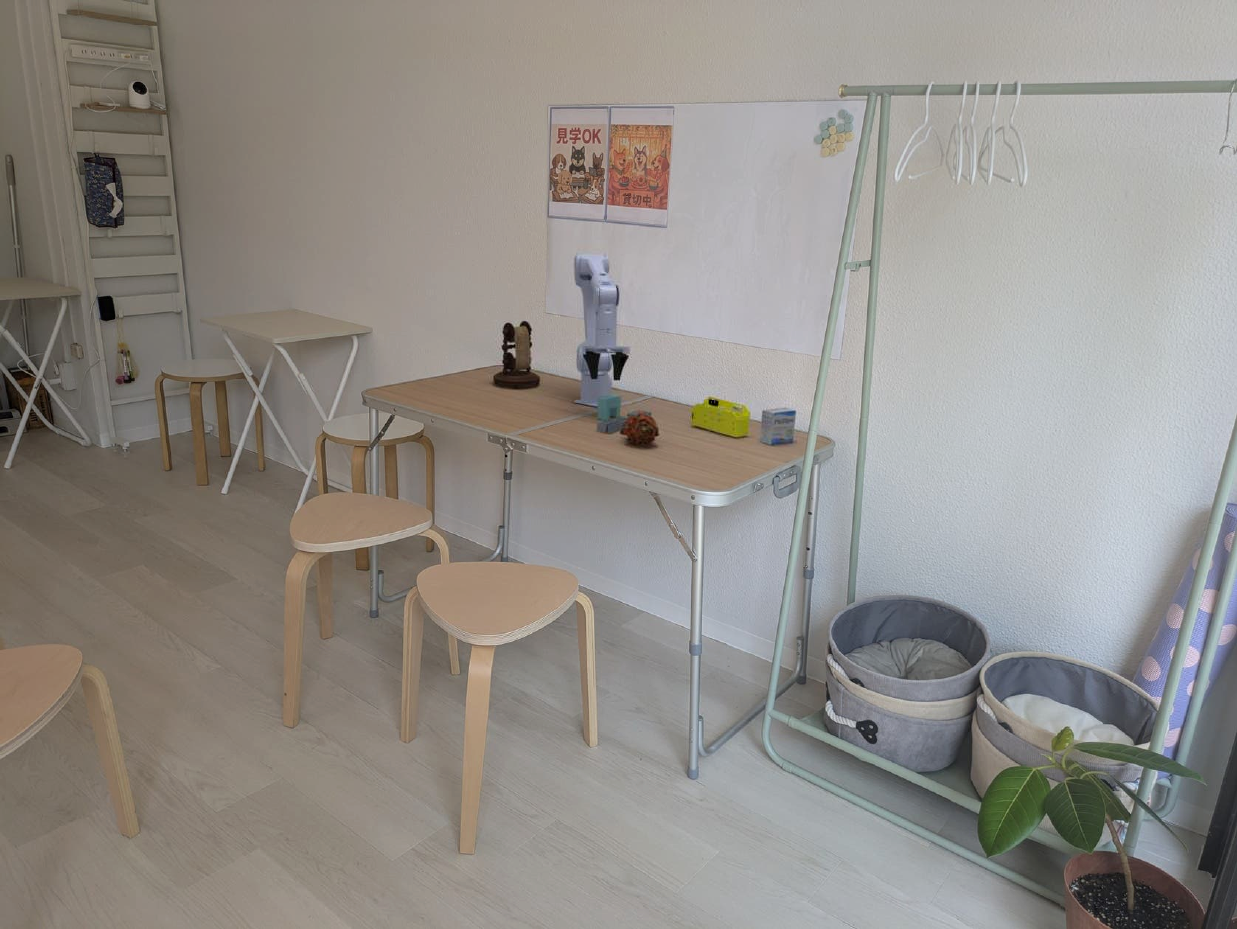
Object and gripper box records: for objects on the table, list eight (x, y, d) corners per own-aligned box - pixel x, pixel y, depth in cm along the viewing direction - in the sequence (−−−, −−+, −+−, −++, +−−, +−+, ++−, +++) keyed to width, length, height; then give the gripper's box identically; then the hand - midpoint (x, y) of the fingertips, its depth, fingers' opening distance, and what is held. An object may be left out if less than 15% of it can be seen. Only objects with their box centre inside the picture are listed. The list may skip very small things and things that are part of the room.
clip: (611, 414, 260) (612, 393, 258) (620, 416, 258) (621, 395, 257) (597, 418, 254) (597, 397, 253) (605, 420, 253) (606, 399, 251)
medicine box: (770, 445, 236) (773, 413, 233) (759, 441, 240) (762, 409, 237) (793, 442, 240) (796, 410, 237) (781, 438, 244) (785, 406, 241)
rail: (638, 417, 258) (638, 409, 257) (650, 420, 256) (651, 412, 255) (596, 431, 242) (597, 422, 241) (609, 433, 240) (610, 425, 239)
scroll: (513, 392, 282) (514, 326, 276) (483, 383, 291) (483, 320, 285) (549, 385, 292) (550, 323, 286) (519, 377, 302) (520, 316, 296)
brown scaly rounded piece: (651, 456, 227) (625, 450, 238) (673, 433, 230) (647, 428, 240) (633, 431, 224) (607, 426, 234) (655, 408, 226) (630, 404, 236)
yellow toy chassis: (749, 437, 244) (751, 406, 241) (735, 440, 240) (737, 409, 238) (703, 424, 255) (705, 394, 252) (689, 427, 251) (691, 397, 249)
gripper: (575, 329, 251) (575, 379, 253) (619, 330, 243) (618, 381, 245) (591, 329, 257) (590, 378, 259) (634, 330, 249) (633, 380, 251)
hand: (605, 379), depth 252 cm, fingers open, 7 cm apart
